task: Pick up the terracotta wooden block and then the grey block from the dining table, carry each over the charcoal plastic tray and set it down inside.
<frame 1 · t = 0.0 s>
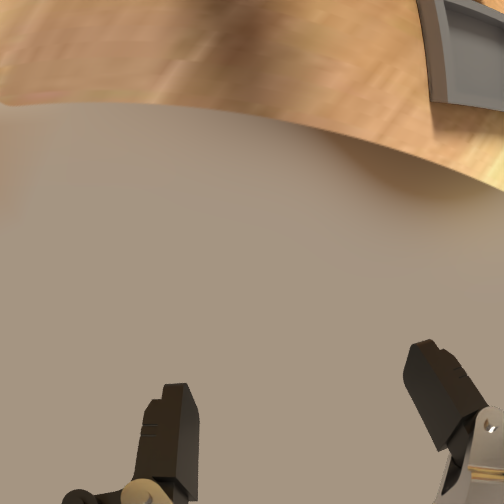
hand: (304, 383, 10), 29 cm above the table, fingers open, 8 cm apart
charcoal tray: (475, 56, 29), on the table
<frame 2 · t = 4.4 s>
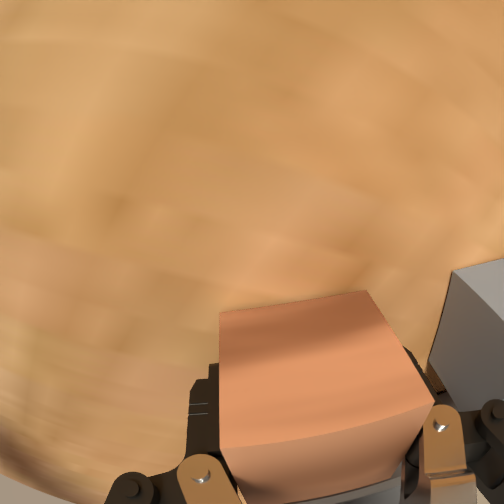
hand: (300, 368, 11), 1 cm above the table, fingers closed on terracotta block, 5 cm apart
grey block: (479, 308, 12), on the table
terracotta block: (297, 355, 11), on the table, touching gripper
charcoal tray: (402, 456, 18), on the table
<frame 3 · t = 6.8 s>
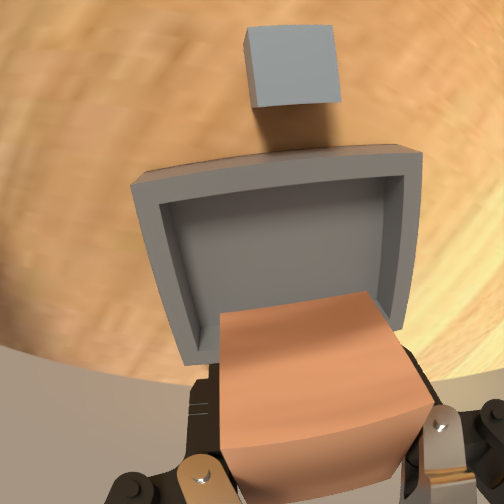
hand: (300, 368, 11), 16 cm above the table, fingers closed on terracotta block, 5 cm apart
grey block: (281, 72, 20), on the table
terracotta block: (297, 355, 11), point 15 cm above the table, touching gripper
charcoal tray: (285, 248, 26), on the table
when the fingers open (3 cm above the table, at t = 9.5 s): terracotta block drops 2 cm, resting on charcoal tray.
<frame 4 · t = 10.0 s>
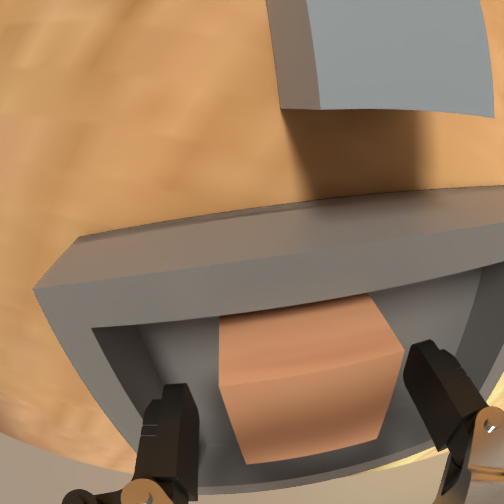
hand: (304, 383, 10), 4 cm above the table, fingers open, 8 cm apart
grey block: (340, 41, 9), on the table
terracotta block: (289, 324, 13), point 1 cm above the table, touching charcoal tray
charcoal tray: (327, 353, 15), on the table
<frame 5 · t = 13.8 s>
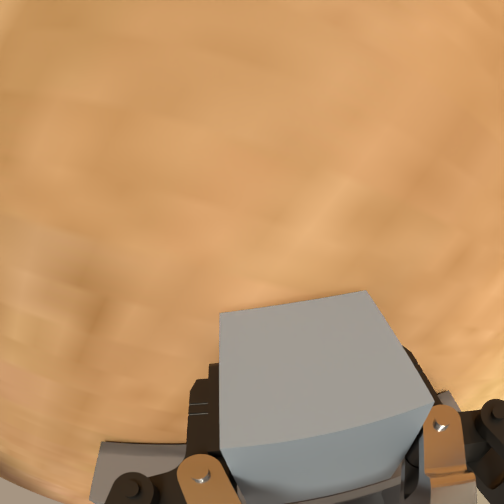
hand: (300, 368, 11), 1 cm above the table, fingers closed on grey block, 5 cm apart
grey block: (297, 355, 11), on the table, touching gripper
charcoal tray: (285, 485, 17), on the table
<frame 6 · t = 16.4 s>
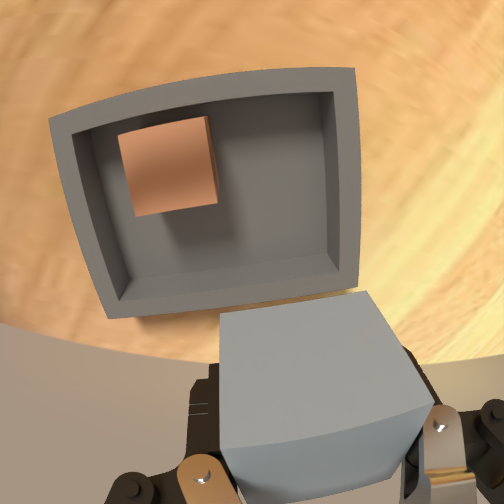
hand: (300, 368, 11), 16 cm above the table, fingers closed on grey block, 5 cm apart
grey block: (297, 355, 11), point 15 cm above the table, touching gripper
terracotta block: (179, 155, 21), point 1 cm above the table, touching charcoal tray
charcoal tray: (213, 188, 23), on the table
when the fingers open (3 cm above the table, at t = 19.2 s): grey block drops 2 cm, resting on charcoal tray.
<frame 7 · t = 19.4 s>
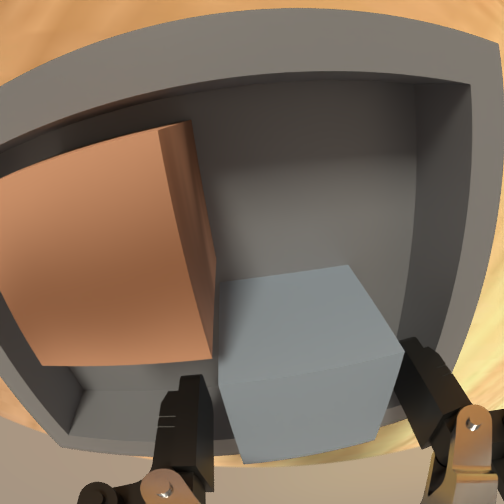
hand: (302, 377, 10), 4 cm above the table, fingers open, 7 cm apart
grey block: (288, 324, 13), point 1 cm above the table, touching charcoal tray
terracotta block: (133, 205, 10), point 1 cm above the table, touching charcoal tray
charcoal tray: (205, 264, 12), on the table
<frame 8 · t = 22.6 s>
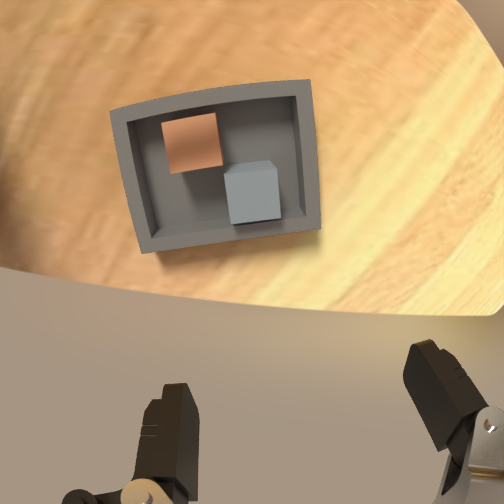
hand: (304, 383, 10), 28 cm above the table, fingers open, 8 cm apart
grey block: (249, 184, 35), point 1 cm above the table, touching charcoal tray
terracotta block: (197, 138, 32), point 1 cm above the table, touching charcoal tray
charcoal tray: (219, 161, 34), on the table
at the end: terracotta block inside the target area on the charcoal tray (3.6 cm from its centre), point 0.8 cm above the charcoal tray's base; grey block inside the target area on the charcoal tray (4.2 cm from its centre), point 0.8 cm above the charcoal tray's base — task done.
